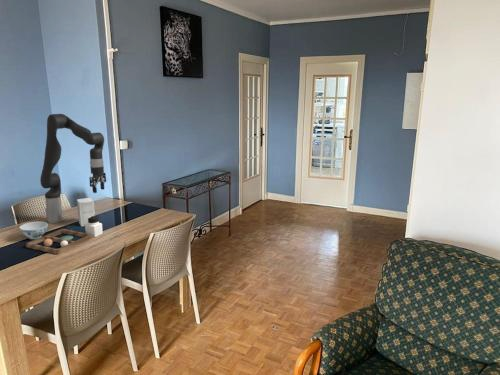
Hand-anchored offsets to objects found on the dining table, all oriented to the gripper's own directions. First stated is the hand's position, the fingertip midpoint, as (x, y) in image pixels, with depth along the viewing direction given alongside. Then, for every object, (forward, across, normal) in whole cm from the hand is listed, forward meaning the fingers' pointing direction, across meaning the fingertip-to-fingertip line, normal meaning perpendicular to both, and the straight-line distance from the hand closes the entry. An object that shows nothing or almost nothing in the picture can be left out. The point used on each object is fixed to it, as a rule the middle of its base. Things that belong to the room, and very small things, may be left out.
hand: (98, 191), depth 235 cm
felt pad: (+27, +15, -15) cm, 34 cm away
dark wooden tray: (+27, +21, -14) cm, 37 cm away
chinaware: (+28, +18, -34) cm, 47 cm away
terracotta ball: (+27, +27, -17) cm, 42 cm away
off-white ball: (+27, +27, -7) cm, 39 cm away
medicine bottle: (+28, +5, -2) cm, 28 cm away
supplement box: (+28, -12, -18) cm, 35 cm away
